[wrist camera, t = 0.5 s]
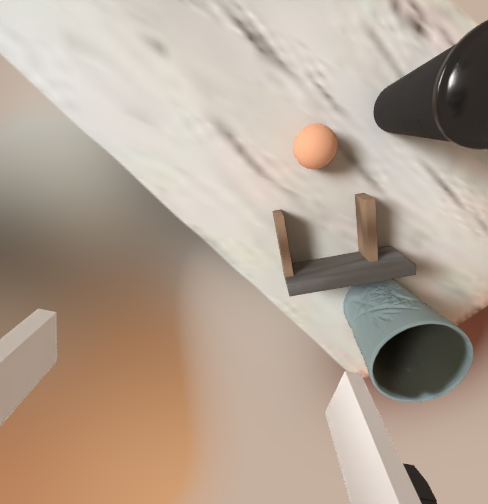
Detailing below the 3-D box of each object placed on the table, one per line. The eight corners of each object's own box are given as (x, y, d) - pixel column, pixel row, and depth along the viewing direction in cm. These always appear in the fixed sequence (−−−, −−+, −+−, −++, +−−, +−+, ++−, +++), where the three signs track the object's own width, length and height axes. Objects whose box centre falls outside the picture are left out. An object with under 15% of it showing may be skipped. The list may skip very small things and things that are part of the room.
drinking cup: (448, 95, 30) (766, 25, 12) (397, 159, 33) (592, 185, 14) (395, 49, 29) (657, -114, 10) (345, 119, 31) (486, 90, 13)
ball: (288, 129, 32) (293, 128, 28) (328, 120, 31) (340, 117, 27) (293, 170, 33) (300, 175, 29) (332, 162, 33) (344, 165, 29)
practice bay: (272, 211, 35) (277, 224, 30) (389, 187, 34) (416, 197, 28) (283, 273, 38) (289, 296, 33) (390, 254, 37) (415, 274, 31)
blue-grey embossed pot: (356, 342, 42) (394, 415, 31) (323, 293, 39) (352, 353, 28) (422, 310, 40) (489, 376, 29) (392, 255, 37) (454, 305, 26)
